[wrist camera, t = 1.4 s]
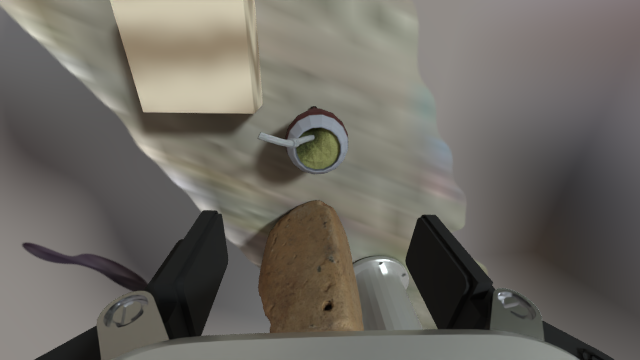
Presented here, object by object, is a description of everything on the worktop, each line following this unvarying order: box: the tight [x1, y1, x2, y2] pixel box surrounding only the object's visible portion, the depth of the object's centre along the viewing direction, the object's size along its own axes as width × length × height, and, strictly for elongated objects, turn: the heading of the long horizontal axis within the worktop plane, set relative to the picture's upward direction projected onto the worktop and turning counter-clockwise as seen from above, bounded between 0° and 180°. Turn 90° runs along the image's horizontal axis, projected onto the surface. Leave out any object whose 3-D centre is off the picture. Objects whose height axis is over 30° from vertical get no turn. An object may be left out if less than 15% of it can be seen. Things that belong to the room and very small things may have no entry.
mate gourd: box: [258, 106, 348, 174], centre depth 25 cm, size 8×8×15 cm
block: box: [258, 200, 364, 333], centre depth 29 cm, size 11×8×20 cm
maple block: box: [110, 0, 263, 114], centre depth 25 cm, size 11×11×6 cm
